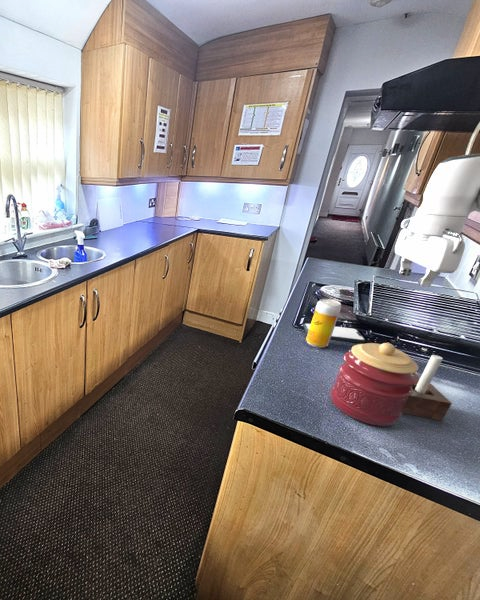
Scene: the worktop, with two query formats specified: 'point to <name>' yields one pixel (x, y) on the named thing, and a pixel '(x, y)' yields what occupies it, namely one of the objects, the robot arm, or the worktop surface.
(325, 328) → the pint of beer
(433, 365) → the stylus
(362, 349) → the kitchen canister
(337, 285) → the worktop surface
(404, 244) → the robot arm
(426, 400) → the pen stand
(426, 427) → the worktop surface
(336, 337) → the phone case
